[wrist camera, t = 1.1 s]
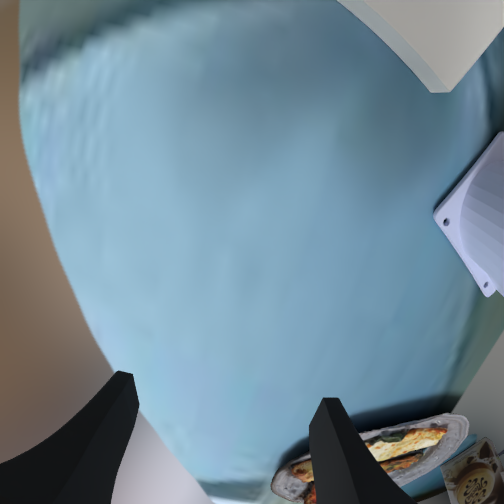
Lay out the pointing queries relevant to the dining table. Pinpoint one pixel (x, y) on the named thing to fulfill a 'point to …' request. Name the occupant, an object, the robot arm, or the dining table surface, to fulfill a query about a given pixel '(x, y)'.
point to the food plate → (385, 454)
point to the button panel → (433, 34)
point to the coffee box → (475, 475)
